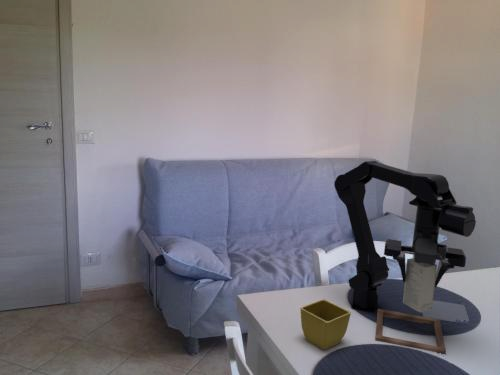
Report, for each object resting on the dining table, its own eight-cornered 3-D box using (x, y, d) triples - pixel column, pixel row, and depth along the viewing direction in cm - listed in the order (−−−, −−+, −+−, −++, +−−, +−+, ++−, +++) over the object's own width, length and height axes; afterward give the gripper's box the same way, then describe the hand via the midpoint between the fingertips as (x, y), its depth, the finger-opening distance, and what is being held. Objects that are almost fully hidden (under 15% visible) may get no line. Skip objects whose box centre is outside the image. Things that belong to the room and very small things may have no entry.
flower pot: (321, 330, 114) (323, 298, 112) (348, 346, 107) (351, 311, 105) (297, 341, 108) (299, 307, 106) (324, 358, 102) (327, 322, 100)
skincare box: (432, 310, 112) (438, 265, 110) (419, 313, 110) (425, 267, 108) (413, 299, 118) (419, 256, 115) (400, 302, 116) (406, 258, 113)
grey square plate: (422, 318, 122) (422, 316, 122) (420, 299, 133) (420, 298, 133) (470, 326, 119) (470, 324, 119) (464, 307, 130) (464, 305, 130)
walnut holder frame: (374, 343, 109) (375, 337, 109) (377, 313, 124) (377, 308, 124) (445, 357, 104) (445, 351, 104) (439, 324, 119) (439, 319, 119)
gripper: (386, 229, 105) (379, 290, 108) (473, 240, 99) (463, 305, 103) (388, 217, 115) (381, 273, 119) (467, 227, 110) (458, 286, 113)
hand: (419, 284), depth 113 cm, fingers closed on skincare box, 7 cm apart
